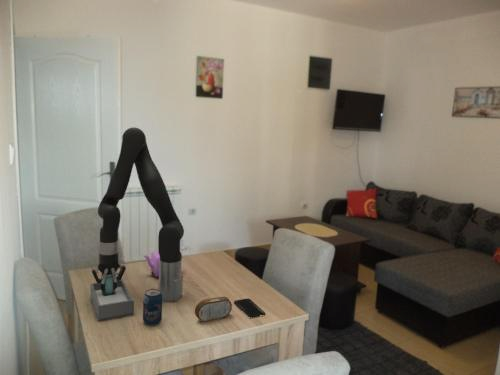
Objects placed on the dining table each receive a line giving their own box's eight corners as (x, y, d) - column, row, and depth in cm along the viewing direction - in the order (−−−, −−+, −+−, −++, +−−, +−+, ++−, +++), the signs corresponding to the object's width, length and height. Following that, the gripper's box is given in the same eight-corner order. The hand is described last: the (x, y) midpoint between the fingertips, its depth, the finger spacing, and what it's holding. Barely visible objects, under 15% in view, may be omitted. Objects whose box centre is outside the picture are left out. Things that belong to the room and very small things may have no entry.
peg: (115, 294, 160) (115, 276, 159) (109, 297, 156) (109, 279, 155) (108, 292, 161) (108, 274, 160) (102, 295, 158) (102, 277, 156)
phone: (249, 298, 167) (266, 313, 154) (248, 300, 167) (266, 316, 154) (232, 301, 163) (249, 317, 150) (232, 303, 163) (249, 319, 150)
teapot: (178, 268, 197) (179, 245, 195) (184, 276, 188) (185, 252, 186) (139, 273, 188) (139, 249, 186) (143, 281, 179) (144, 256, 177)
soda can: (144, 327, 139) (144, 297, 137) (141, 318, 145) (142, 289, 143) (163, 325, 141) (164, 294, 140) (159, 316, 148) (160, 287, 146)
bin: (122, 292, 166) (122, 279, 165) (133, 314, 147) (133, 300, 147) (90, 297, 160) (90, 283, 159) (98, 321, 141) (98, 306, 140)
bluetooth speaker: (228, 313, 153) (230, 294, 152) (232, 317, 151) (233, 297, 149) (194, 320, 146) (194, 300, 145) (197, 324, 143) (197, 303, 142)
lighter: (108, 276, 182) (108, 260, 181) (107, 275, 184) (107, 259, 182) (123, 274, 186) (123, 258, 185) (122, 273, 187) (122, 257, 186)
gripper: (124, 246, 162) (124, 284, 165) (89, 250, 155) (89, 289, 158) (128, 252, 156) (127, 291, 159) (91, 256, 149) (91, 297, 152)
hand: (108, 290), depth 158 cm, fingers closed on peg, 3 cm apart
